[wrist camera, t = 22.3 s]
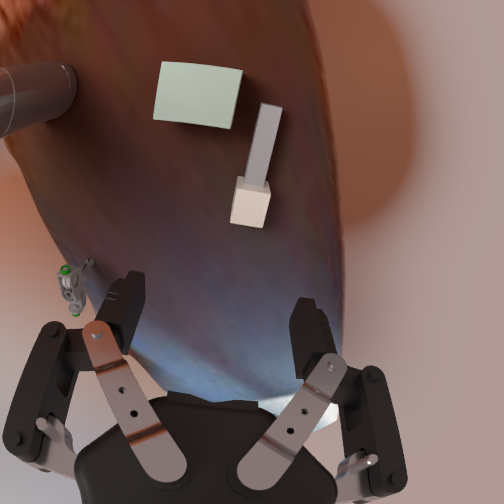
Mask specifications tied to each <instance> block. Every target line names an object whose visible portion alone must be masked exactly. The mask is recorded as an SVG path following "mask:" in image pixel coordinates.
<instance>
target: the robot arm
mask: <svg viewBox="0 0 504 504" xmlns="http://www.w3.org/2000/svg"><path fill="white" fill-rule="evenodd" d="M76 91H77V79H76V75H75V72H74V70H73V69H72V68H71V67H70V66H69V65H68V64H66V63H62V62H57V63H35V64H24V65H15V66H7V67H0V139H1V138H3V137H6V136H8V135H10V134H13V133H15V132H18V131H20V130H23V129H25V128H28V127H30V126H33V125H36V124H38V123H41V122H44V121H47V120H50V119H53V118H56V117H59V116H61V115H62V114H64V113H65V112H66V111H67V110H68V109H69V108H70V106H71V104H72V103H73V101H74V98H75V95H76ZM144 304H145V274H144V273H143V272H137V271H132V270H130V271H129V273H128V275H127V277H126V279H121V278H119V279H118V280H116V281H115V282H114V283H113V284H112V285H111V287H110V289H109V291H108V293H107V295H106V298H105V299H104V301H103V303H102V305H101V307H100V309H99V311H98V313H97V316H96V318H95V320H94V321H92V322H89V323H88V324H86V325H85V326H84V328H82V329H66V328H65V326H64V325H63V324H62V323H60V322H57V321H52V322H49V323H47V324H46V325H44V326H43V327H42V329H41V331H40V333H39V335H38V338H37V340H36V342H35V344H34V346H33V349H32V351H31V353H30V356H29V358H28V360H27V363H26V365H25V368H24V370H23V373H22V375H21V378H20V381H19V383H18V386H17V389H16V392H15V395H14V397H13V400H12V403H11V406H10V410H9V413H8V416H7V420H6V424H5V427H4V431H3V436H2V438H3V443H4V445H5V447H6V449H7V450H8V451H9V452H10V453H12V454H13V455H15V456H16V457H18V458H19V459H20V460H21V461H23V462H25V463H26V464H28V465H30V466H32V467H34V468H37V469H39V470H40V471H43V472H51V471H52V472H54V473H57V474H60V475H62V476H65V477H68V478H71V479H74V480H76V482H77V484H78V487H79V490H80V494H81V499H82V504H340V503H347V502H353V503H356V504H364V503H367V502H371V501H374V500H377V499H380V498H383V497H386V496H389V495H392V494H395V493H397V492H400V491H401V490H402V489H404V487H405V486H406V484H407V480H408V477H407V470H406V465H405V459H404V454H403V449H402V444H401V439H400V435H399V430H398V426H397V421H396V417H395V413H394V409H393V405H392V401H391V397H390V393H389V389H388V386H387V382H386V378H385V375H384V373H383V372H382V371H381V370H380V369H379V368H378V367H375V366H366V367H365V368H364V369H363V370H359V369H356V368H353V367H350V366H347V364H346V362H345V360H344V359H343V358H342V357H341V356H339V355H337V351H336V347H335V344H334V340H333V336H332V333H331V329H330V326H329V322H328V318H327V316H326V315H325V313H324V312H323V311H322V309H317V308H316V304H315V300H314V299H310V298H302V297H300V298H299V299H298V301H297V303H296V306H295V308H294V310H293V313H292V315H291V317H290V322H289V330H290V337H291V344H292V351H293V358H294V365H295V372H296V379H304V384H303V385H302V386H301V388H300V389H299V390H298V392H297V393H296V394H295V396H294V397H293V398H292V400H291V401H290V402H289V404H288V405H287V406H286V408H285V409H284V410H283V411H282V413H281V414H280V415H279V416H278V418H277V417H276V416H275V415H273V414H272V413H270V412H268V411H266V410H264V409H262V408H259V407H258V401H244V400H232V401H224V402H209V401H207V400H204V399H201V398H198V397H196V396H193V395H191V394H185V393H179V392H173V391H168V393H167V396H164V397H158V398H154V399H151V400H149V401H148V400H147V399H146V397H145V395H144V393H143V391H142V389H141V388H140V386H139V384H138V382H137V380H136V378H135V376H134V374H133V372H132V371H131V368H130V366H129V364H128V363H127V361H126V360H124V358H123V356H122V354H123V355H128V352H129V349H130V345H131V342H132V339H133V336H134V333H135V330H136V327H137V324H138V321H139V318H140V316H141V313H142V310H143V307H144ZM79 371H95V372H96V375H97V377H98V380H99V382H100V385H101V387H102V389H103V392H104V394H105V396H106V398H107V401H108V403H109V405H110V407H111V409H112V411H113V413H114V416H115V418H116V420H117V422H118V423H117V424H116V425H114V426H113V427H112V428H110V429H109V430H108V431H106V432H105V433H104V434H102V435H101V436H100V437H98V438H97V439H96V440H94V441H93V442H91V443H90V444H89V445H87V446H86V447H84V448H83V449H82V450H81V451H80V452H79V453H78V455H76V454H75V452H74V450H73V445H72V443H73V440H72V435H71V433H70V432H69V431H68V429H67V428H66V427H65V421H66V417H67V413H68V409H69V405H70V401H71V398H72V394H73V390H74V387H75V383H76V380H77V377H78V373H79ZM330 402H331V403H334V404H338V408H339V415H340V422H341V430H342V438H343V446H344V455H345V459H344V460H343V461H342V462H340V464H339V466H338V470H337V476H336V478H335V479H334V477H333V476H332V474H331V473H330V472H329V471H328V470H327V469H325V467H324V466H323V465H321V463H320V462H319V461H317V459H316V458H315V457H314V456H313V455H312V454H311V453H310V452H309V451H308V450H307V449H306V448H305V447H304V446H303V444H304V443H305V441H306V440H307V439H308V437H309V436H310V434H311V433H312V431H313V430H314V428H315V427H316V425H317V423H318V422H319V420H320V419H321V417H322V416H323V414H324V412H325V411H326V409H327V407H328V406H329V404H330Z"/></svg>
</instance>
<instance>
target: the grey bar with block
mask: <svg viewBox="0 0 504 504" xmlns="http://www.w3.org/2000/svg"><path fill="white" fill-rule="evenodd" d="M282 109H283V108H281V107H280V106H276V105H271V104H266V103H262V102H261V103H260V107H259V112H258V116H257V121H256V125H255V129H254V134H253V138H252V143H251V148H250V152H249V157H248V161H247V166H246V171H245V175H244V177H241V176H238V178H237V183H236V188H235V193H234V198H233V203H232V209H231V219H230V223H235V224H238V225H240V224H241V225H247V226H250V227H258V228H263V224H264V220H265V216H266V212H267V208H268V204H269V200H270V196H271V192H270V188H269V183H268V181H265V178H266V174H267V170H268V166H269V162H270V158H271V154H272V150H273V145H274V141H275V137H276V133H277V129H278V125H279V121H280V117H281V113H282Z"/></svg>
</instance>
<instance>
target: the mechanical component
mask: <svg viewBox="0 0 504 504" xmlns="http://www.w3.org/2000/svg"><path fill="white" fill-rule="evenodd" d="M93 264H94V260H93V259H90V262H89V260H88V259H87V260H86V262H85V263H84V265H83V266H82V268H81V269H80V267H76V266H72V265H67V264H65V265H64V266H62V267H61V269H60V271H59V272H58V273H57V278H58V282H59V286H60V289H61V295H62V297H63V299H64V300H66V301H67V302H70V305H69V311H70V313H72V315H73V316H75V317H77V316H79V315H80V313H81V312H82V310H83V308H84V307H85V304H86V294H85V289H84V282H86V281H87V277H86V275H87V274H88V272H89V271H90V269H91V267H92V266H93ZM61 279H62V281H61Z"/></svg>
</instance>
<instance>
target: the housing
mask: <svg viewBox="0 0 504 504" xmlns="http://www.w3.org/2000/svg"><path fill="white" fill-rule="evenodd" d="M242 76H243V70H237V69H231V68H224V67H217V66H209V65H200V64H190V63H178V62H162V65H161V70H160V76H159V82H158V88H157V94H156V101H155V108H154V116H153V119H156V120H167V121H176V122H185V123H193V124H200V125H207V126H214V127H220V128H227V129H230V128H231V125H232V122H233V117H234V112H235V108H236V103H237V98H238V94H239V89H240V85H241V80H242Z"/></svg>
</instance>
